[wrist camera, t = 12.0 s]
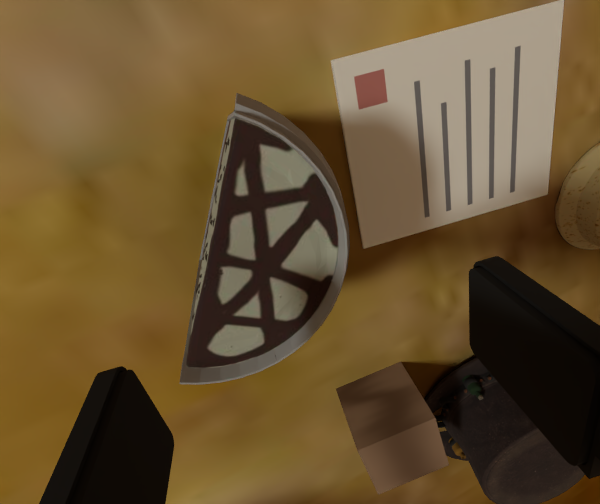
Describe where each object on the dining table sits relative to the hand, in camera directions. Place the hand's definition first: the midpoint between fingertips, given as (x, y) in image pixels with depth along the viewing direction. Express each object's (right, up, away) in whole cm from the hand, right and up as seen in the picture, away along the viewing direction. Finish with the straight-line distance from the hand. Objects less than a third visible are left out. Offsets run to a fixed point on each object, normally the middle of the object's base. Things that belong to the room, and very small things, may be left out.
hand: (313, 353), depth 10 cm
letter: (+9, +10, +14) cm, 19 cm away
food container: (-3, +6, +13) cm, 15 cm away
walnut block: (+6, -10, +23) cm, 26 cm away
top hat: (+18, -11, +26) cm, 34 cm away
